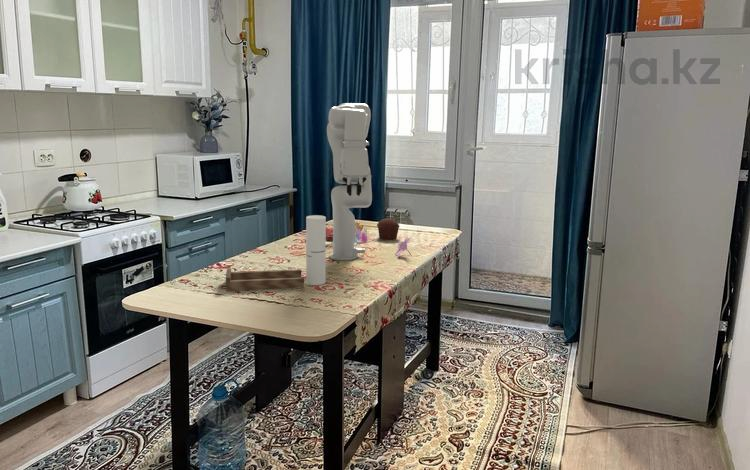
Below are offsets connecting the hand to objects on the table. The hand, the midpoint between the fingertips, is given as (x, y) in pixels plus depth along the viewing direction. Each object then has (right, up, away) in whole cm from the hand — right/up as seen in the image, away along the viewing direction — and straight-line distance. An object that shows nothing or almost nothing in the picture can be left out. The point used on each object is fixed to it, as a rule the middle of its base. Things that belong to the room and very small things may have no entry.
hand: (353, 194), depth 208 cm
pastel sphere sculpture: (-8, -18, +70) cm, 73 cm away
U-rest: (-32, -33, +1) cm, 46 cm away
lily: (+20, -25, +45) cm, 55 cm away
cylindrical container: (-15, -33, +5) cm, 36 cm away
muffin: (+14, -17, +78) cm, 81 cm away
